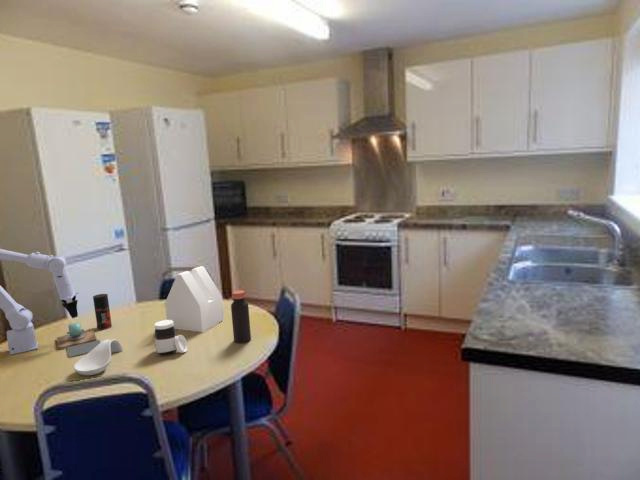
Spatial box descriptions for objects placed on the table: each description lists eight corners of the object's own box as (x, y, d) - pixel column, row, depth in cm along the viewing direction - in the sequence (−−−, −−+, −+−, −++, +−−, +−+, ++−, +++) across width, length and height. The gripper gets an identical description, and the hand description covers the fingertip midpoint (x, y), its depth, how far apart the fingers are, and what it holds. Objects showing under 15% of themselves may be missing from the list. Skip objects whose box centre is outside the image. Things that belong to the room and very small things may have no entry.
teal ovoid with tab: (67, 337, 186) (66, 328, 185) (67, 334, 190) (65, 325, 189) (84, 333, 189) (83, 324, 188) (83, 330, 193) (82, 321, 192)
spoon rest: (102, 379, 153) (99, 359, 152) (68, 380, 153) (64, 361, 152) (131, 351, 176) (129, 333, 175) (101, 352, 176) (99, 335, 175)
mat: (68, 358, 172) (68, 357, 172) (66, 348, 182) (66, 347, 182) (103, 349, 178) (103, 348, 178) (99, 340, 188) (99, 339, 188)
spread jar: (155, 349, 176) (152, 320, 174) (185, 343, 180) (182, 315, 178) (157, 360, 165) (154, 330, 163) (189, 354, 169) (186, 324, 167)
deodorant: (108, 324, 208) (103, 293, 206) (114, 326, 205) (109, 294, 202) (95, 328, 204) (90, 296, 201) (101, 330, 200) (96, 298, 198)
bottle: (247, 343, 176) (243, 294, 173) (231, 343, 178) (226, 294, 174) (253, 337, 183) (249, 289, 179) (237, 336, 184) (233, 289, 181)
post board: (58, 350, 180) (57, 343, 180) (57, 339, 192) (55, 333, 191) (96, 341, 187) (95, 334, 187) (93, 331, 199) (92, 325, 199)
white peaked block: (224, 320, 205) (219, 267, 201) (202, 332, 192) (197, 275, 187) (190, 316, 213) (185, 265, 209) (167, 328, 199) (161, 273, 195)
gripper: (75, 284, 181) (86, 315, 184) (73, 279, 194) (83, 308, 196) (56, 290, 178) (67, 321, 181) (55, 284, 190) (65, 314, 193)
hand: (74, 315), depth 188 cm, fingers open, 7 cm apart
